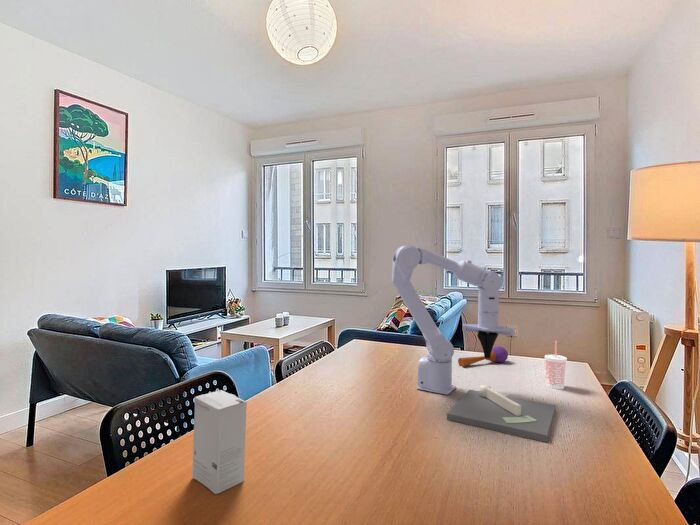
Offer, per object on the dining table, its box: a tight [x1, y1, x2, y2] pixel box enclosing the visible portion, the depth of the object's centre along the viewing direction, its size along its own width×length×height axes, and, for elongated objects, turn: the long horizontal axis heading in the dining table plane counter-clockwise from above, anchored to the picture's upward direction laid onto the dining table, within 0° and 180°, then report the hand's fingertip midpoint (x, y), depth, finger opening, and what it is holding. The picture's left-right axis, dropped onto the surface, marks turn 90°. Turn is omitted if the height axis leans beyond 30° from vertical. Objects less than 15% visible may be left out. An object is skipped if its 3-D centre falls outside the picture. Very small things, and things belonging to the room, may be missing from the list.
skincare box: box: [191, 389, 248, 495], centre depth 73 cm, size 8×6×15 cm
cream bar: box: [478, 384, 521, 416], centre depth 105 cm, size 16×3×2 cm, turn 15°
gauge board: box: [446, 389, 557, 443], centre depth 102 cm, size 22×20×2 cm
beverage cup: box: [544, 340, 568, 390], centre depth 123 cm, size 6×6×14 cm
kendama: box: [457, 345, 509, 368], centre depth 148 cm, size 6×6×20 cm
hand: (487, 357), depth 121 cm, fingers closed
